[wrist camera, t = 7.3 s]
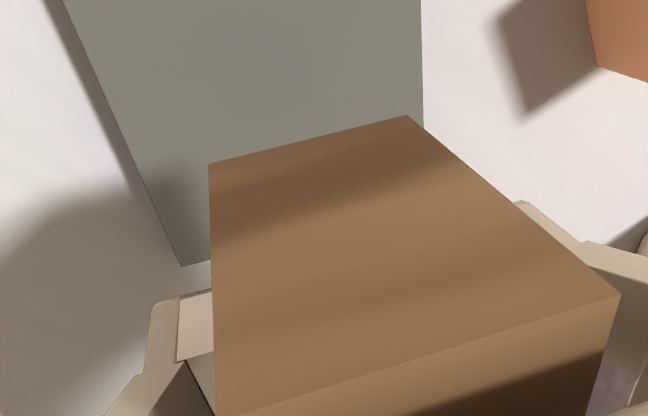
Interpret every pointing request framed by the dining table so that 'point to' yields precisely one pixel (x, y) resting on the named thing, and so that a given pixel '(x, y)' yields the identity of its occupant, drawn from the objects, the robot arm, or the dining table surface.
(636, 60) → the terracotta block
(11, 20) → the dining table surface
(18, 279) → the dining table surface
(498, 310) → the walnut block
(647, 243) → the supplement can
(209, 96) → the coaster
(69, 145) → the dining table surface
